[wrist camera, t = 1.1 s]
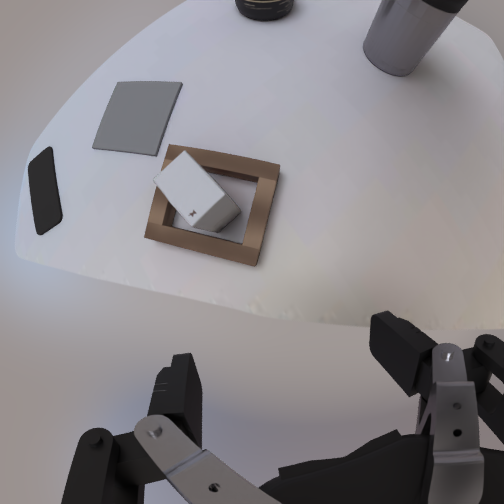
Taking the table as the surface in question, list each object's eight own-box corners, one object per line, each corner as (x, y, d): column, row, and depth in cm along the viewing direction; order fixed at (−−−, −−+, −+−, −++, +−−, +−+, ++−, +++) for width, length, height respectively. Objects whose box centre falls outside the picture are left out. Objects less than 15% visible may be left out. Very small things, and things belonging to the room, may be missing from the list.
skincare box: (243, 210, 35) (228, 195, 23) (218, 233, 35) (191, 229, 23) (212, 177, 35) (184, 148, 23) (188, 199, 35) (150, 180, 23)
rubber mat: (119, 83, 36) (117, 81, 35) (182, 84, 35) (181, 82, 34) (93, 148, 36) (91, 147, 36) (156, 156, 36) (155, 154, 35)
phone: (51, 143, 37) (62, 219, 37) (54, 144, 37) (65, 220, 37) (27, 164, 37) (36, 237, 37) (30, 165, 38) (39, 237, 38)
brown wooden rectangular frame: (177, 152, 35) (169, 144, 32) (279, 172, 34) (280, 164, 31) (155, 237, 36) (144, 237, 32) (256, 264, 35) (255, 266, 32)
